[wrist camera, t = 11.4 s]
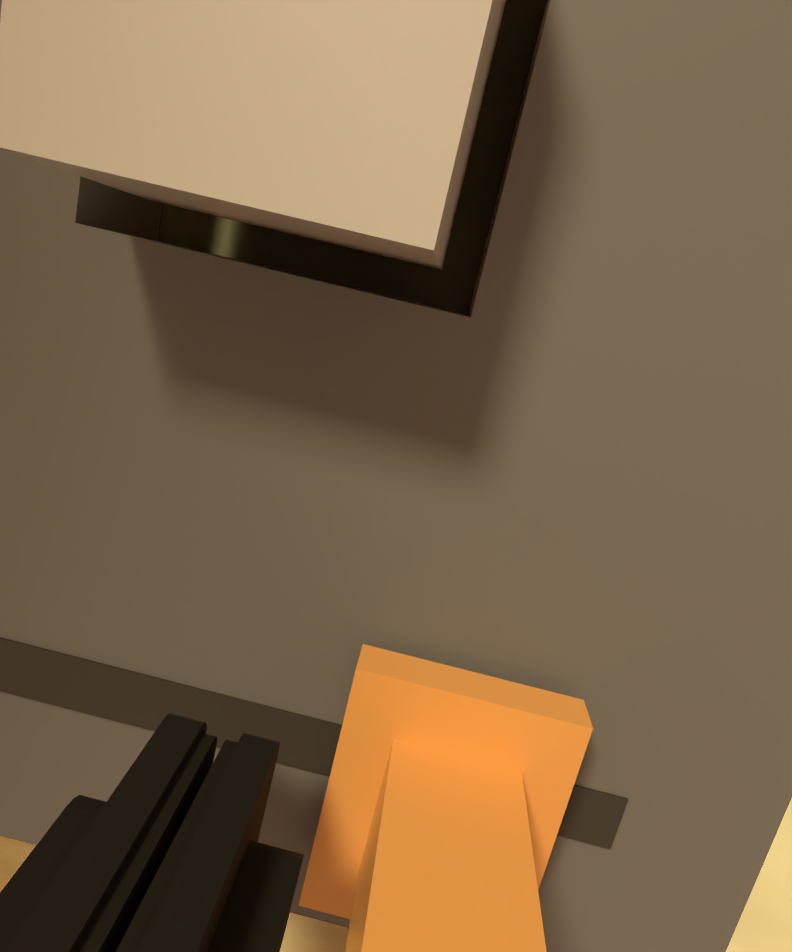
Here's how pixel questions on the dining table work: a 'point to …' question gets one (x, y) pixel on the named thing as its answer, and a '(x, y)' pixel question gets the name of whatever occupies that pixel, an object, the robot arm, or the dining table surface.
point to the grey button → (259, 108)
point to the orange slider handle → (443, 807)
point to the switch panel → (438, 475)
